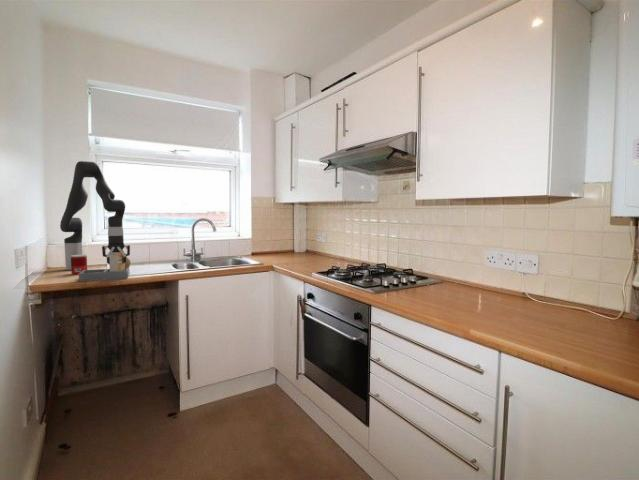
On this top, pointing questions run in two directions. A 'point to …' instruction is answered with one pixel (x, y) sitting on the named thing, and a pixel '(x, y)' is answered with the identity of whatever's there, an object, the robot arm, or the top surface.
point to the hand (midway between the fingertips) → (116, 263)
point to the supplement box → (116, 262)
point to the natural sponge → (127, 263)
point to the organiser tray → (102, 274)
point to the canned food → (78, 263)
